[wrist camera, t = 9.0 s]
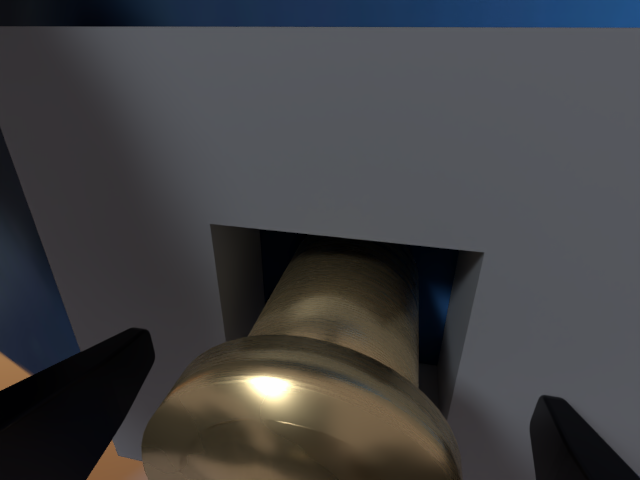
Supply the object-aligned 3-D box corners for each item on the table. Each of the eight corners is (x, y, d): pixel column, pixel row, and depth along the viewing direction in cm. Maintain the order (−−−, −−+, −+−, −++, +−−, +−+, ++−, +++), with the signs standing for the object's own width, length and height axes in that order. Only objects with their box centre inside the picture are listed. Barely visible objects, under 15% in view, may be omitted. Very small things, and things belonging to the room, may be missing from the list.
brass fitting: (275, 332, 14) (170, 550, 8) (267, 190, 12) (107, 353, 6) (430, 356, 13) (438, 626, 7) (456, 206, 11) (503, 427, 5)
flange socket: (163, 392, 17) (118, 455, 15) (72, 27, 11) (-37, 26, 8) (565, 471, 14) (597, 568, 12) (771, 30, 8) (946, 28, 5)
